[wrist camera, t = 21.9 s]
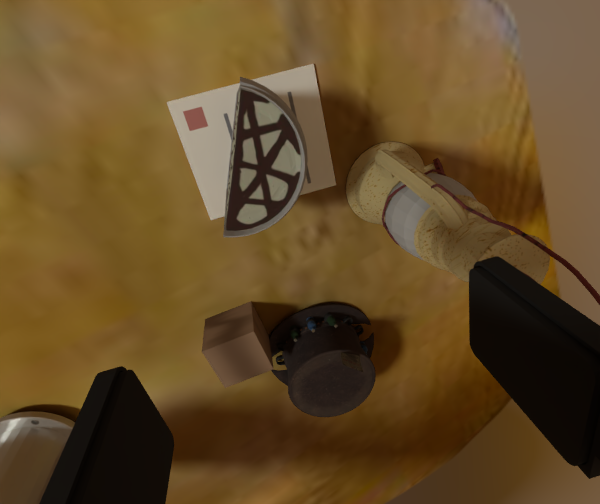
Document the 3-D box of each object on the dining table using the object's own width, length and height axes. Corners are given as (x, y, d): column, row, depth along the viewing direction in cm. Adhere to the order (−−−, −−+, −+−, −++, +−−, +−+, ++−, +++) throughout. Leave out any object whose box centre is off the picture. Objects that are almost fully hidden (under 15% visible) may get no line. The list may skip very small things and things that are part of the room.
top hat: (382, 364, 54) (413, 426, 44) (285, 400, 53) (297, 468, 44) (359, 283, 47) (391, 336, 37) (248, 323, 46) (253, 386, 37)
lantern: (446, 198, 43) (793, 402, 16) (375, 245, 44) (593, 507, 18) (402, 108, 38) (815, 197, 11) (323, 165, 39) (524, 369, 12)
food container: (282, 210, 40) (296, 250, 31) (224, 203, 38) (222, 243, 30) (303, 89, 35) (327, 95, 26) (238, 75, 33) (240, 77, 25)
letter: (210, 219, 39) (210, 220, 39) (167, 102, 34) (166, 102, 33) (335, 184, 40) (336, 185, 40) (312, 63, 34) (313, 63, 34)
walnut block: (225, 352, 48) (225, 387, 42) (205, 318, 45) (201, 351, 40) (268, 335, 48) (273, 369, 42) (251, 300, 45) (253, 331, 39)
